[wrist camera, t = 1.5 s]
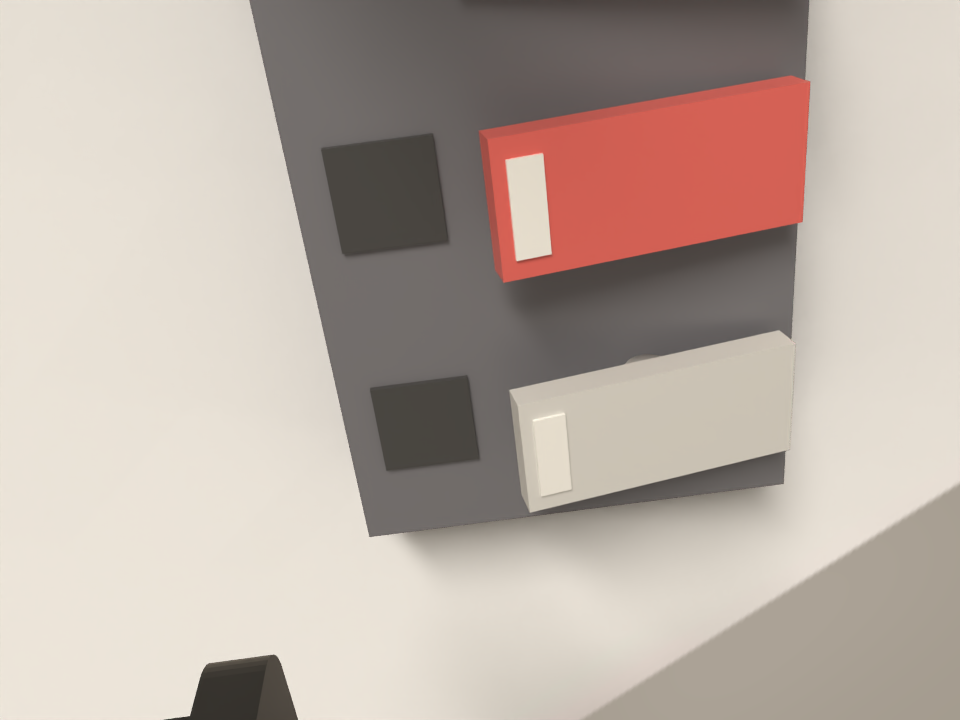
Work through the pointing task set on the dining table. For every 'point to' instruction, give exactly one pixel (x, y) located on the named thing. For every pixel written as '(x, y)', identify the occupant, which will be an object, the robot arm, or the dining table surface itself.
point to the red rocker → (645, 176)
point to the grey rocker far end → (653, 419)
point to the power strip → (466, 229)
